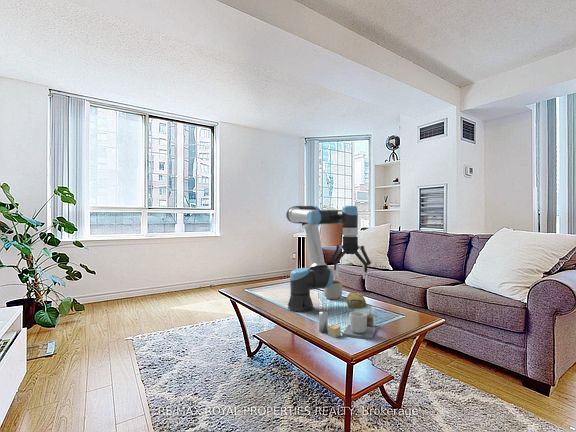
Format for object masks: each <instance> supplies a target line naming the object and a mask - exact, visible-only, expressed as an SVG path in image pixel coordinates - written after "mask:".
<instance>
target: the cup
mask: <svg viewBox="0 0 576 432" xmlns="http://www.w3.org/2000/svg"><path fill="white" fill-rule="evenodd" d="M367 314H368V313H366V312H364V311H351V312H350V313H349V322H350V324H349V325H351V330H352V331H353V332H355V333H364V332H365V331H366V325H367Z"/></svg>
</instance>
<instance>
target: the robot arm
mask: <svg viewBox="0 0 576 432" xmlns="http://www.w3.org/2000/svg"><path fill="white" fill-rule="evenodd" d="M285 215H286V219H287V221H288V222H290V223H292V224H298V225H299V224H300V225H301V227H302V228H303V229H305V230H304V231H305V238H306V241H307V242H306V243H307V247H308V248H307V249H308V255H309V262H310V266H309V267H300V268H295V269H293V270H291V272H290V274H289V283H290V284H289V285H290V289H289V291H290V292H289V293H290V295H289V300H288V304H287V309H288V310H289V309H290V310H289V311H291V310H292V311H291V312H296V311H298V312H299V313H300V312H301V313H302V312H304V311H305V312H309V311H312V310H313V309H314V304H313V301H312V297H311V290H320V289H323V290H324V288H328V287H330V286H331V285H332V282H333V280H334V272H333V271H332V269H331V268H329V267H328V264H327V263H325V258H324V257H325V256H324V251H323V246H322V241H321V235H320V230H319V226H320V225H342V235H343V236H342V245H341V244H337V245H336V248H335V251H334V253H333V255H332V256H331V260H330V263H332V264H333V266H334V267H333V270H334V271H335V277H337V278H338V277H339V276H340V264H339V262H340V261H341V259H342V258H343V257H344V256H345V255H355V256H356V257H357V258H358V260H359V261H360V262H361V263H362V279H363V280H365V279H366V273H367V272H368V266H370V265H371V264H372V261H371V259H370V258H369V255H368V253H367V252H366V250H365V246H364V245H359V237H358V235H359V233H358V231H359V229H358V227H359V225H358V224H359V221H358V218H359V216H358V215H359V212H358V206H357V205H343V206H342V209H321V208H319V207H318V205H294V206H291V207H289V208H288V209H287V210H286V214H285ZM341 249H342V250H343V251H342V252H341V253H340V255H339V256H338V254H339V251H340V250H341ZM358 250H359V251H361V253H362V255H363V257H364V258H363V257H362V255H361V253H360V252H359V251H358ZM337 256H338V257H337Z"/></svg>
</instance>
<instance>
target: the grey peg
mask: <svg viewBox="0 0 576 432" xmlns="http://www.w3.org/2000/svg"><path fill="white" fill-rule="evenodd" d="M328 323H329V322H328V311H326V310H319V312H318V327H319V329H318V331H319V333H321V334H328V327H329V326H328Z"/></svg>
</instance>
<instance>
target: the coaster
mask: <svg viewBox="0 0 576 432" xmlns="http://www.w3.org/2000/svg"><path fill="white" fill-rule="evenodd" d="M376 330H377V328H376V327H374V326H373V327H366V331H365V332H364V333H355V332H353V331H352V330H351V324H347V326H346V328H345V329H344V330H343V332H342V334H341V335H342V337H347V338H355V339H364V340H369V341H370V340H371V341H373V339H374V336H375V333H376V332H377V331H376Z"/></svg>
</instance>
